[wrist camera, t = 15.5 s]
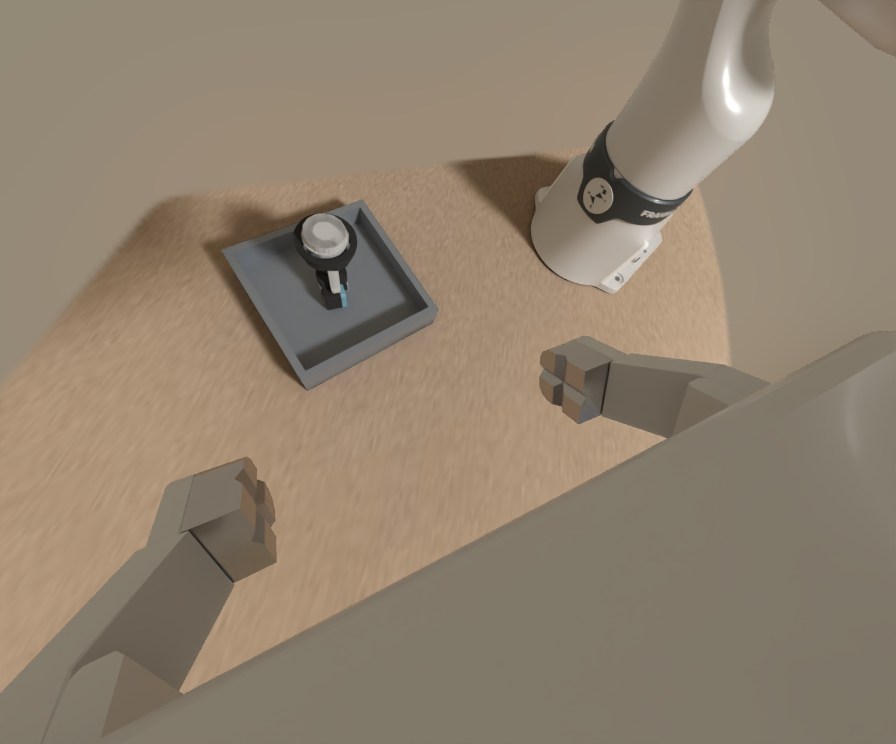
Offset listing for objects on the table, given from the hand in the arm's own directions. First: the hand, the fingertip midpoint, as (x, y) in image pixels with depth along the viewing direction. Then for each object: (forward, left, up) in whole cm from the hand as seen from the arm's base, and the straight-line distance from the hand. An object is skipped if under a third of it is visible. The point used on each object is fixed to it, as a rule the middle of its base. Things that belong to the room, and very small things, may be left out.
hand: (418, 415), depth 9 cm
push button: (-6, -19, -27) cm, 34 cm away
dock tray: (-6, -18, -28) cm, 34 cm away
